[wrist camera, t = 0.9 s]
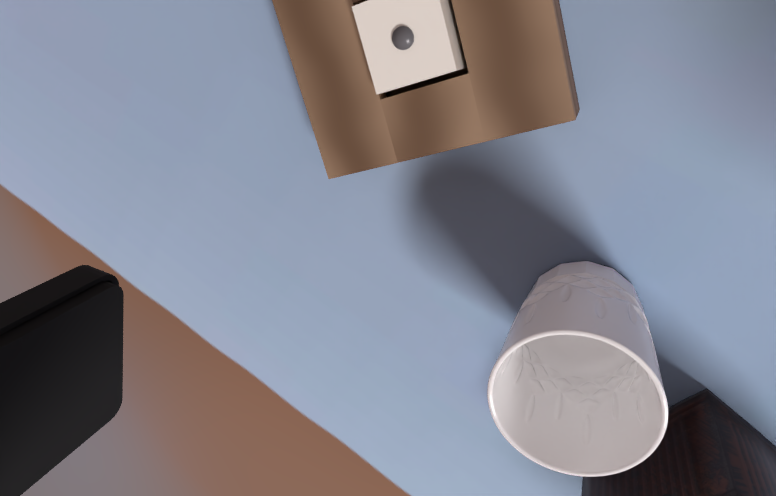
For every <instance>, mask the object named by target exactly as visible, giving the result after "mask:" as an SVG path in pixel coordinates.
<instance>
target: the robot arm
mask: <svg viewBox="0 0 776 496" xmlns="http://www.w3.org/2000/svg"><path fill="white" fill-rule="evenodd" d="M122 372H123V291H122V288H121V287H119V282H118V280H117V278H116V277H115V276H113V275H111V274H109V273H106V272H104V271H101V270H98V269H96V268H93V267H91V266H88V265H82V266H78V267H76V268H74V269H72V270H70V271H68V272H65V273H63V274H61V275H59V276H57V277H55V278H53V279H50V280H49V281H46V282H44V283H42V284H40V285H38V286H36V287H34V288H32V289H29V290H28V291H25V292H23V293H21V294H19V295H17V296H15V297H13V298H10V299H8V300H6V301H4V302H2V303H0V496H20V495H21V494H23V493H24V492H25V491H26V490H27V489H29V488H30V487H31V486H32V485H33V484H35V483H36V482H37V481H38V480H39V479H41V478H42V477H43V476H44V475H45V474H47V473H48V472H49V471H50V470H51V469H52V468H54V467H55V466H56V465H57V464H59V463H60V462H61V461H62V460H63V459H65V458H66V457H67V456H68V455H69V454H71V453H72V452H73V451H74V450H75V449H77V448H78V447H79V446H80V445H81V444H82V443H84V442H85V441H86V440H87V439H88V438H90V437H91V436H92V435H93V434H94V433H96V432H97V431H98V430H99V429H100V428H102V427H103V426H104V425H105V424H106V423H108V422H109V421H110V420H111V419H112V418H113V417H114V416H115V414H116V413H117V412H118V410H119V408H120V406H121V403H122V382H123V381H122V380H123V378H122V377H123V373H122ZM663 496H674V495H671V494H664V495H663Z"/></svg>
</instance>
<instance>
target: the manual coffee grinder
mask: <svg viewBox="0 0 776 496" xmlns="http://www.w3.org/2000/svg"><path fill="white" fill-rule="evenodd" d="M664 494H671V495H674V496H776V447H775V446H774V445H773V444H772V443H771V442H770V441H769V440H768V439H766V438H765V437H764V436H763V435H762V434H761V433H760V432H759V431H757V430H756V429H755V428H754V427H752V426H751V425H750V424H749V423H748V422H746V421H745V420H744V419H743V418H742V417H740V416H739V415H738V414H737V413H736V412H734V411H733V410H732V409H731V408H730V407H728V406H727V405H726V404H725V403H724V402H722V401H721V400H720V399H719V398H718V397H716V396H715V395H714V394H713V393H711V392H710V391H709V390H708V389H705V390H703V391H701V392H699V393H697V394H695V395H693V396H691V397H689V398H687V399H685V400H683V401H681V402H679V403H677V404H675V405H674V406H672V407H670V408H669V409H668V424H667V428H666V431H665V434H664V437H663V439H662V441H661V442H660V444H659V446H658V447H657V448H656V450H655V451H654V452H653V453H652V454H651V455H650V456H649V457H648V458H647V459H645V460H644V461H643V462H641V463H640V464H638V465H636V466H634V467H633V468H630V469H628V470H626V471H623V472H620V473H616V474H612V475H607V476H597V477H585V476H583V483H582V496H663V495H664Z"/></svg>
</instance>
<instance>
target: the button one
mask: <svg viewBox="0 0 776 496" xmlns="http://www.w3.org/2000/svg"><path fill="white" fill-rule="evenodd" d="M352 10H353V13H354V17H355V20H356V24H357V27H358V31H359V34H360V38H361V42H362V45H363V49H364V52H365V56H366V59H367V63H368V66H369V70H370V73H371V77H372V80H373V84H374V87H375V91H376V95H377V94H381V93H384V92H388V91H391V90H395V89H398V88H401V87H405V86H408V85H411V84H415V83H418V82H421V81H425V80H428V79H431V78H435V77H438V76H441V75H444V74H448V73H451V72H454V71H458V70H461V69H464V68H467V64H466V59H465V55H464V51H463V47H462V43H461V38H460V34H459V30H458V26H457V22H456V18H455V13H454V9H453V5H452V1H451V0H368V1H365V2H362V3H360V4H357V5H355V6H352Z"/></svg>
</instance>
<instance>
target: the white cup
mask: <svg viewBox="0 0 776 496" xmlns="http://www.w3.org/2000/svg"><path fill="white" fill-rule="evenodd" d="M487 396H488V404H489V408H490V412H491V415H492V417H493V420H494V422H495V424H496V425H497V427H498V429H499V430H500V432H501V433H502V435H503V436H504V437H505V438H506V440H507V441H508V442H509V443H510V444H511V445H512V446H513V447H514V448H515V449H517V450H518V451H519V452H520V453H521V454H523V455H524V456H526V457H527V458H529V459H530V460H532V461H534V462H535V463H537V464H539V465H541V466H544V467H546V468H548V469H551V470H554V471H557V472H560V473H564V474H569V475H575V476H585V477H597V476H607V475H612V474H616V473H620V472H623V471H626V470H628V469H630V468H633V467H634V466H636V465H638V464H640V463H641V462H643V461H644V460H645V459H647V458H648V457H649V456H650V455H651V454H652V453H653V452H654V451H655V450H656V448H657V447H658V446H659V444H660V442H661V441H662V439H663V437H664V434H665V431H666V428H667V424H668V403H667V398H666V394H665V390H664V386H663V382H662V377H661V373H660V368H659V364H658V359H657V355H656V350H655V346H654V343H653V340H652V336H651V332H650V329H649V325H648V322H647V319H646V316H645V314H644V310H643V307H642V304H641V302H640V300H639V297H638V295H637V293H636V290H635V288H634V286H633V285H632V284H631V283H630V282H629V281H628V280H626V279H625V278H624V277H623V276H622V275H620V274H619V273H618V272H617V271H616V270H614V269H613V268H610V267H607V266H603V265H600V264H596V263H593V262H589V261H581V262H572V263H562V264H559V265H558V266H556V267H554V268H553V269H551V270H549V271H548V272H546V273H544V274H542V275H541V276H540V277H539V278H538V280H537V281H536V283H535V284H534V286H533V288H532V289H531V291H530V292H529V294H528V296H527V298H526V300H525V301H524V302H523V304H522V306H521V308H520V310H519V312H518V314H517V316H516V318H515V320H514V322H513V324H512V326H511V328H510V331H509V333H508V335H507V337H506V340H505V342H504V344H503V347H502V349H501V351H500V353H499V356H498V358H497V360H496V362H495V365H494V367H493V369H492V371H491V374H490V377H489V381H488V389H487Z"/></svg>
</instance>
